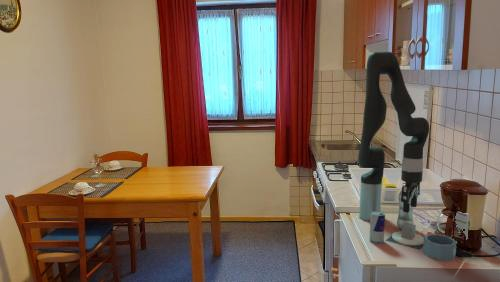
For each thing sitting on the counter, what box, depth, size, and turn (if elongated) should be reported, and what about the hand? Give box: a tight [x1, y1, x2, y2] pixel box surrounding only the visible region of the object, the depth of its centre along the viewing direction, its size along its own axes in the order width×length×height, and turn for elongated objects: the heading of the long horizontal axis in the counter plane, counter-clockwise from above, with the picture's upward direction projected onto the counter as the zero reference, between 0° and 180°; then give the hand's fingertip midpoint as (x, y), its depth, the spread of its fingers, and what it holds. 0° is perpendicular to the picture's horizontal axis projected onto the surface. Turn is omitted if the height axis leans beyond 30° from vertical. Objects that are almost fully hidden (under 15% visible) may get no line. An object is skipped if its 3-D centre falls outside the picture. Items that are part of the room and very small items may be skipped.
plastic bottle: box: [396, 182, 415, 230], centre depth 162 cm, size 6×7×20 cm
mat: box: [385, 230, 423, 250], centre depth 152 cm, size 13×13×1 cm
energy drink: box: [368, 210, 386, 245], centre depth 150 cm, size 5×5×12 cm
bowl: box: [422, 233, 457, 262], centre depth 139 cm, size 10×10×6 cm
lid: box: [391, 223, 425, 247], centre depth 152 cm, size 12×12×6 cm
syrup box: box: [455, 212, 470, 240], centre depth 146 cm, size 6×6×14 cm
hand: (409, 209), depth 150 cm, fingers open, 8 cm apart
